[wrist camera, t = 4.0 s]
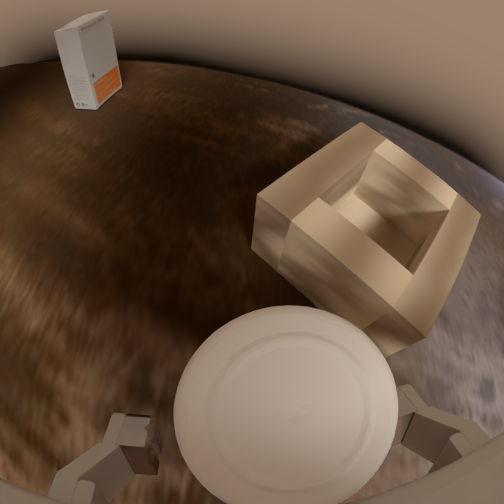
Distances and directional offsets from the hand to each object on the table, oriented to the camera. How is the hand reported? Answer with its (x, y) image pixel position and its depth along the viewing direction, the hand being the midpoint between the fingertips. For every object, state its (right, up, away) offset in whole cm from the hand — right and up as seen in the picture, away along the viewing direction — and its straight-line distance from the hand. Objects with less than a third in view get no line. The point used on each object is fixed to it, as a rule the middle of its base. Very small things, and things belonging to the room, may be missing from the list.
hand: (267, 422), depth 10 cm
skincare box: (-21, +26, +23) cm, 40 cm away
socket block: (+8, +6, +13) cm, 16 cm away
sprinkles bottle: (-1, -4, +7) cm, 8 cm away
